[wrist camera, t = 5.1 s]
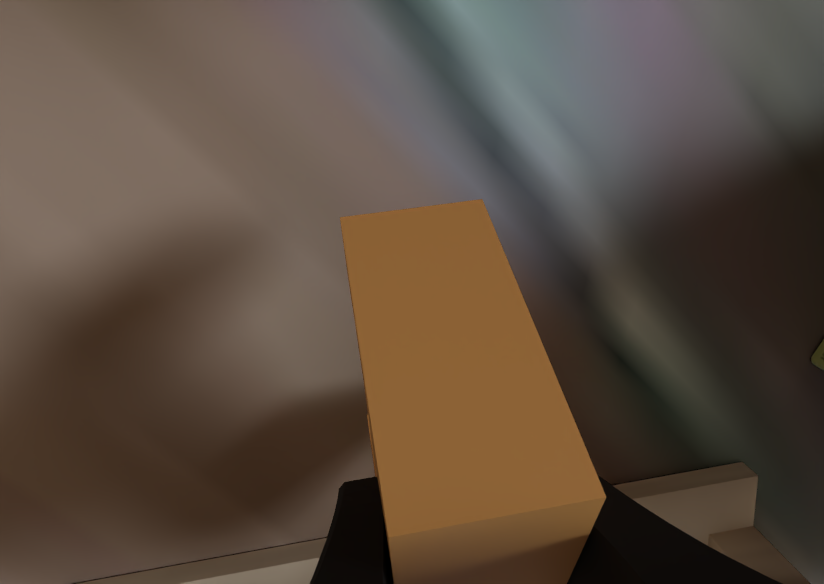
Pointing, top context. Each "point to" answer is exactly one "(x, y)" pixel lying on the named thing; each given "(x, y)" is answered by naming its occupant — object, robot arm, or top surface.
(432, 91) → the top surface
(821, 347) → the protein box
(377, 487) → the robot arm
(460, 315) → the block
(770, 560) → the stand
